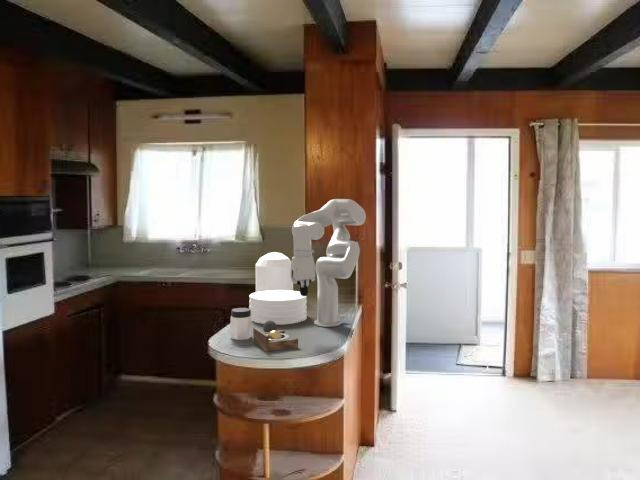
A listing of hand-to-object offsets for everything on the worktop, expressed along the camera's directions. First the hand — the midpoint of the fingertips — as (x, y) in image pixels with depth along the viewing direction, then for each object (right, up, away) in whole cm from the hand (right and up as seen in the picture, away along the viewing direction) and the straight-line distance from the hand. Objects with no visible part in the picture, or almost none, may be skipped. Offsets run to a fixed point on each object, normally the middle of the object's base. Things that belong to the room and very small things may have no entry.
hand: (304, 295), depth 239 cm
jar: (-26, -18, -3) cm, 32 cm away
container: (-19, -11, +74) cm, 77 cm away
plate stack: (-14, -15, +34) cm, 40 cm away
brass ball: (-12, -16, -15) cm, 24 cm away
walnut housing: (-11, -19, -14) cm, 26 cm away
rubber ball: (-15, -14, +3) cm, 21 cm away
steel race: (-11, -19, -14) cm, 26 cm away
